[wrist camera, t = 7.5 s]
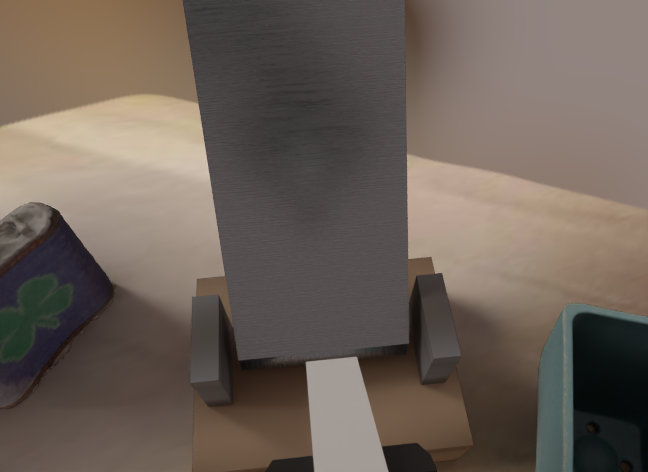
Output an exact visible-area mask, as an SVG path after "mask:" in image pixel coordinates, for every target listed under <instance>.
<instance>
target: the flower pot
mask: <svg viewBox="0 0 648 472" xmlns="http://www.w3.org/2000/svg"><path fill="white" fill-rule="evenodd" d="M590 423H591V424H594V425H595V426H596V427H597V432H596V433H591V432H589V430H588V428H587V426H588V424H590ZM623 461H625V462H627V463H628V464H629V465H630V471H629V472H648V317H647V316H642V315H637V314H631V313H626V312H621V311H615V310H611V309H606V308H601V307H596V306H592V305H588V304H581V303H571V304H566V306H565V307H564V309H563V310H562V312H561V314H560V316H559V318H558V320H557V322H556V324H555V326H554V328H553V330H552V332H551V334H550V336H549V338H548V340H547V343H546V345H545V347H544V349H543V351H542V355H541V358H540V363H539V370H538V410H537V447H536V472H624V471H623V470H622V469H621V466H620V463H621V462H623Z"/></svg>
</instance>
